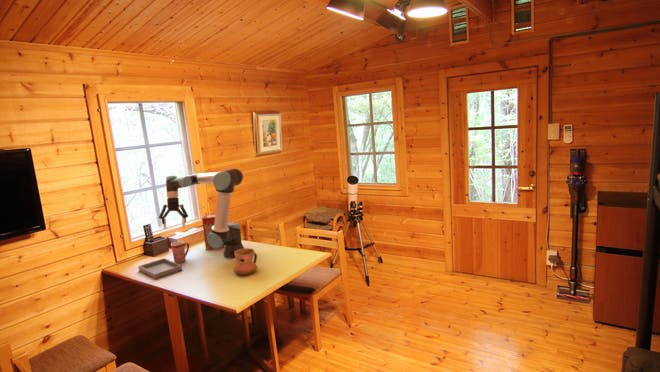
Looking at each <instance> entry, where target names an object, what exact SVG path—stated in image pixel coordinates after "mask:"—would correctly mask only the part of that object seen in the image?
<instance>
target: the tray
mask: <svg viewBox="0 0 660 372" xmlns="http://www.w3.org/2000/svg"><path fill="white" fill-rule="evenodd" d="M138 271H139V272H140V273H142V274H144V275H146V276H148V277H149V278H151V279H153V280H159V279H161V278H164V277H168V276H171V275H173V274H176V273H178V272H179V273H180V272H182V271H183V266H182V264H181V263H175V262H174V260H170V259H168V258H166V257H163V258H160V259H158V260H154V261H150V262H148V263H145V264H141V265H138Z"/></svg>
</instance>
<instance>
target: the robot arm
mask: <svg viewBox="0 0 660 372" xmlns="http://www.w3.org/2000/svg"><path fill="white" fill-rule="evenodd" d="M243 180H244V174H243V171H241V170H240V169H238V168H229V169H226V170H220V171H218V172H217V171H216V172H215V171H214V172H203V173H199V172H196V173H193V174H188V175H182V176H179V177H178V176H176V175H168V176H166V178H165V185H166V202H167V204H163V205H162V209H161V212H160V214H159V216H158V219H160V220H161V224H162V227H163V229H164V230H165V229H167V219H166V217H167V216H168V215H169V214H170V212H177V213H178V214H179V216H181V225H182V226H181V227H182V228H186V223H187V218H188V217H189V215H188V212H187V211H186V209H185V207H184V204H180V202H179V199H180V198H179V189H181V188H182V189H183V188H188V187H191V186H195V185H201V184H203V185H205V184H206V185H207V184H212V185H213V187H214V188H215V191H216V192H217V194H216V195H217V196H216V206H215V214H214V215H215V223H214V226H212V229H211V233H209V234H208V236H207V241H208V243H209V245H210V246H211V247H213V248H215V249H214V250H218V249H217V248H220V249H222V248H221V247H222V246H224V248H223V257H224V258H226V259H236V258H235V254H234V252H235V251H237V250H239V249H244V247H245V246H244V245H243V242H242V233H241V225H240V224H239V223H236V222H228V221H229V215H230V214H229V213H230V206H231V198H232V197H231V196H232V194H233V193H234V190H235V187H236V186H239V185H241V184H242V183H243Z"/></svg>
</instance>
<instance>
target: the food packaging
mask: <svg viewBox="0 0 660 372" xmlns="http://www.w3.org/2000/svg"><path fill="white" fill-rule="evenodd" d="M201 220H202V228H203V239H204V246H205V251H211V250H218V249H219V250H220V249H224V248H225V245H224V246H222V247H221V248H217V249H215V248H213V247H211V246H210V245H209V243H208V241H207V236H208V234H209V233H211V229H212V226H214V223H215V214H207V215H203V216H202V219H201Z"/></svg>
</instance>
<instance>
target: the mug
mask: <svg viewBox="0 0 660 372" xmlns="http://www.w3.org/2000/svg"><path fill="white" fill-rule="evenodd" d="M185 246H187V247H186V249H185ZM170 247H171V253H172V256H173V257H172V258H173V262H175V263H177V264H182V263H185V262H186V257H187V255H188V252H189V251H190V244H189V243H188V242H185V241H183V240H181V241H173V242H171V244H170Z"/></svg>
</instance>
